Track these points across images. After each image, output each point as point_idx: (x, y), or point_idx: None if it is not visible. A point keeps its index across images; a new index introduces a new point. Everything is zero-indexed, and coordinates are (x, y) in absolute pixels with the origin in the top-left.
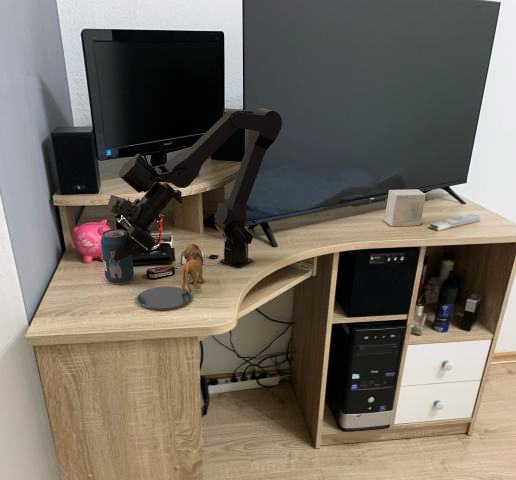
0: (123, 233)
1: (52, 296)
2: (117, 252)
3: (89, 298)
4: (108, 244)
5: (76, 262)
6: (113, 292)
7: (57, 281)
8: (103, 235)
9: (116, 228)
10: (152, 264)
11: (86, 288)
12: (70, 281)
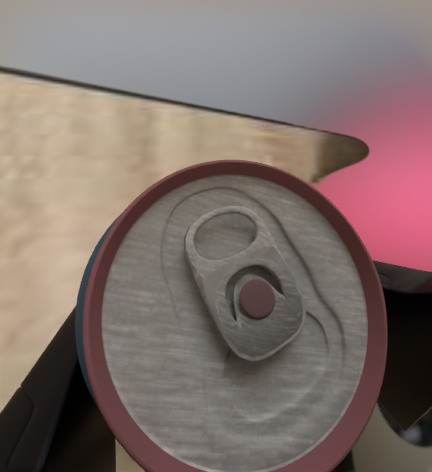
0: (301, 404)
1: (72, 105)
2: (67, 329)
3: (20, 207)
4: (98, 244)
5: (313, 164)
6: (60, 288)
7: (187, 120)
8: (180, 171)
9: (415, 292)
10: None
11: (120, 194)
12: (184, 150)
